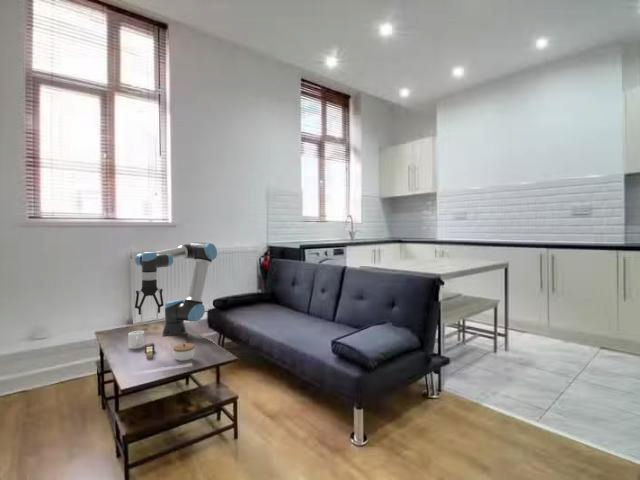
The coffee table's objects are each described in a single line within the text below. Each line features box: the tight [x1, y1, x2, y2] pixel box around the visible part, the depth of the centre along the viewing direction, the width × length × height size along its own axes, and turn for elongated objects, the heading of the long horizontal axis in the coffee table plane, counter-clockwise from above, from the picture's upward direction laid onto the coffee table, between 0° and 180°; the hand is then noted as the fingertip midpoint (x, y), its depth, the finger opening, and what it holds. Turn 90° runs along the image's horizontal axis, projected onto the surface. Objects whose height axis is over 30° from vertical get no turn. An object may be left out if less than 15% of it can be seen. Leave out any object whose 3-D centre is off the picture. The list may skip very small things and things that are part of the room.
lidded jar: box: [173, 342, 196, 362], centre depth 186 cm, size 11×11×9 cm
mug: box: [127, 330, 145, 350], centre depth 201 cm, size 8×12×10 cm
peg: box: [144, 342, 155, 359], centre depth 190 cm, size 14×5×4 cm, turn 26°
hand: (149, 319), depth 194 cm, fingers open, 7 cm apart
